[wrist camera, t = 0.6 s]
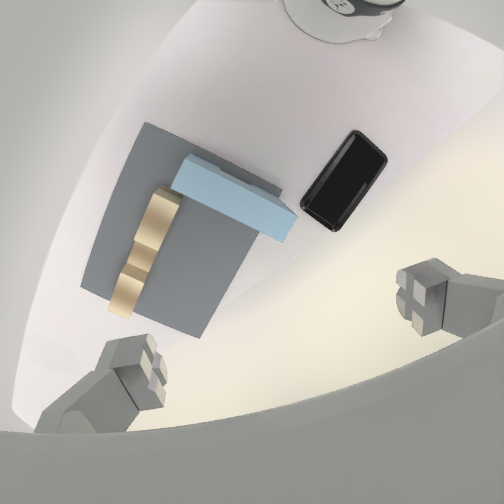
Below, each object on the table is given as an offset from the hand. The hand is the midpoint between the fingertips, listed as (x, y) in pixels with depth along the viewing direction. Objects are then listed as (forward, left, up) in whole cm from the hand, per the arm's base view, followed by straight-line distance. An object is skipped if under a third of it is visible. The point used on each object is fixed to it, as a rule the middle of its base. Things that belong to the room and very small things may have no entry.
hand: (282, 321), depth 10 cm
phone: (-8, +16, -38) cm, 42 cm away
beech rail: (+14, -6, -37) cm, 40 cm away
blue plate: (+1, +1, -37) cm, 37 cm away
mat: (+12, -3, -38) cm, 40 cm away
